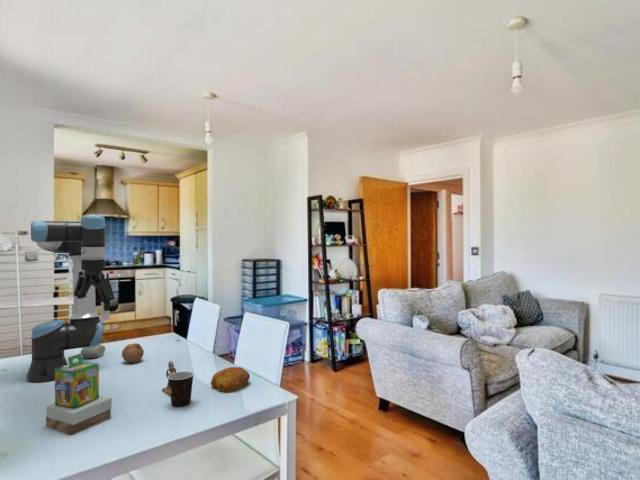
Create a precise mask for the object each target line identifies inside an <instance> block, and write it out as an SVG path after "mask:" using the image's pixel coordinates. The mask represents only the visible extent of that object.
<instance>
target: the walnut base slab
mask: <svg viewBox="0 0 640 480" xmlns="http://www.w3.org/2000/svg"><path fill="white" fill-rule="evenodd" d="M111 411H112V410H111V409H110V410H107V411H105V412H103V413H100V414H98V415H96V416H93V417H91V418H89V419H86V420H84V421H82V422H79V423H77V424H75V425H71V424H67V423H64V422H61V421H58V420H54V419H51V418H48V417H47V416H45V418H46V419H45V421H46V422H45V426H46V427H47V428H51V429H53V430H56V431H58V432H61V433H63V434H66V435H69V436H72V435H74V434H77V433H79V432H81V431H84V430H86V429H88V428H90V427H93V426H96V425H97V424H100V423H101V422H102V423H103V422H104V421H107V420H109V419H111V418H112V417H111V416H112V413H111Z"/></svg>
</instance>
